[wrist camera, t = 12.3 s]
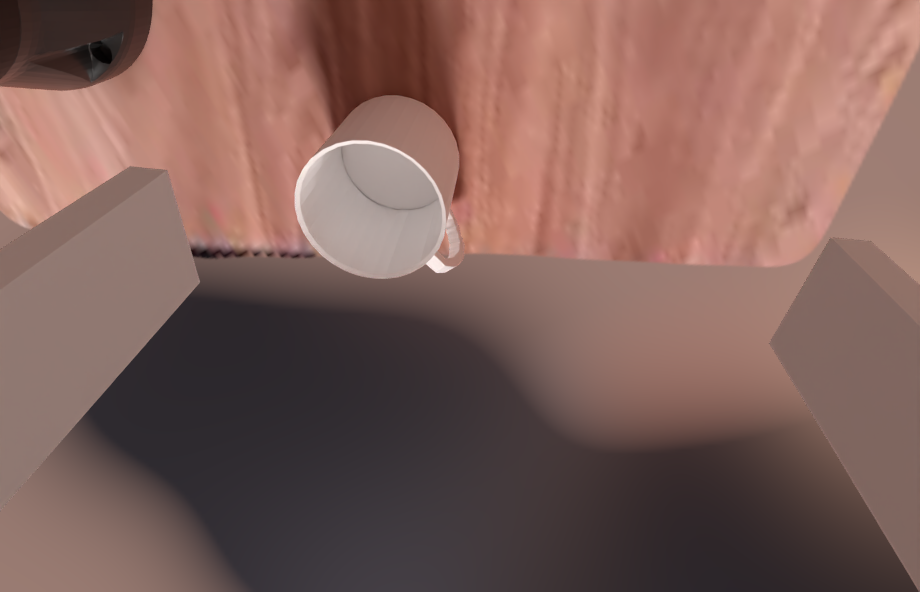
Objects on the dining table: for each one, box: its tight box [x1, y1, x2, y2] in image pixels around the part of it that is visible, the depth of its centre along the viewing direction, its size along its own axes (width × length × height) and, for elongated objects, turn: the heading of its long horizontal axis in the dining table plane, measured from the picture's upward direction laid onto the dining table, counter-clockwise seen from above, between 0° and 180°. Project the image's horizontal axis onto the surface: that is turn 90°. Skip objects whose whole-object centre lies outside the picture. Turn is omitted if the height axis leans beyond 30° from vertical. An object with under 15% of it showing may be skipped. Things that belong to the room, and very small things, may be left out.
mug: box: [295, 95, 465, 279], centre depth 35 cm, size 12×9×9 cm
